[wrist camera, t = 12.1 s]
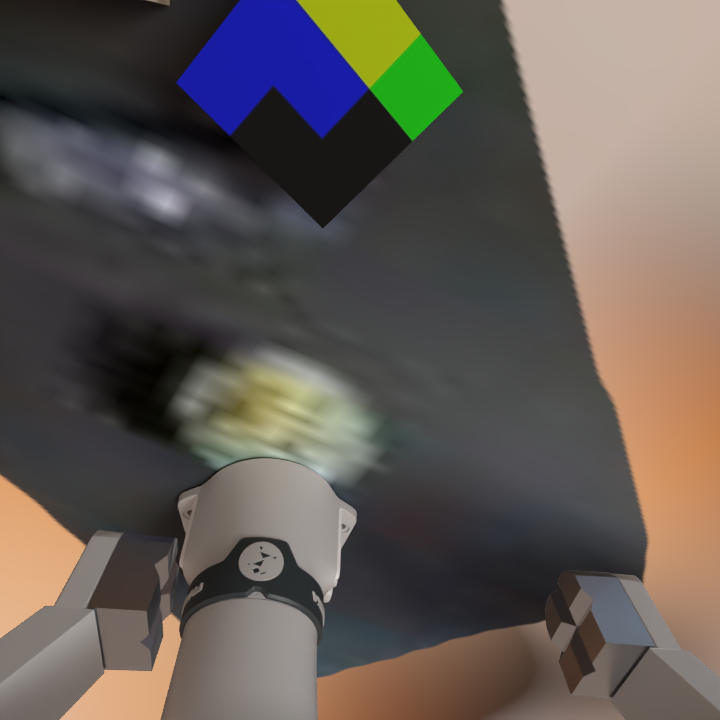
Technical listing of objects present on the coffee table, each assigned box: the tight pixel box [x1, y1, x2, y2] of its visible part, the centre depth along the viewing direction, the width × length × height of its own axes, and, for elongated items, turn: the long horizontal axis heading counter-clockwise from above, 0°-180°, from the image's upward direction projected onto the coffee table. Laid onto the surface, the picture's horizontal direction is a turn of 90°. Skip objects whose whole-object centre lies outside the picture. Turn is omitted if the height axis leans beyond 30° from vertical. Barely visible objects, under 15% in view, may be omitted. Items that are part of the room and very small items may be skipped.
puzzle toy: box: [176, 0, 463, 228], centre depth 29 cm, size 10×10×10 cm
